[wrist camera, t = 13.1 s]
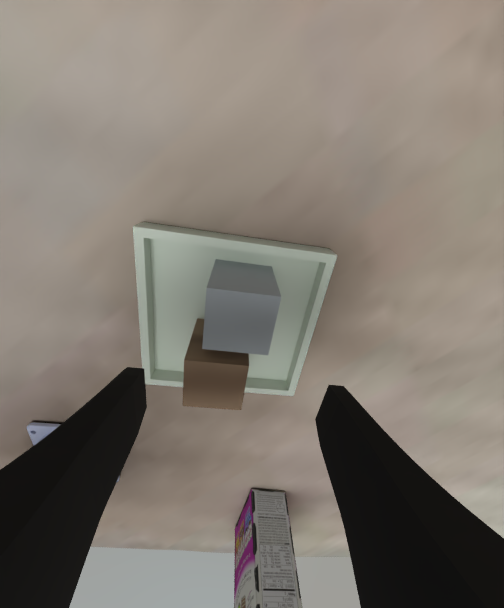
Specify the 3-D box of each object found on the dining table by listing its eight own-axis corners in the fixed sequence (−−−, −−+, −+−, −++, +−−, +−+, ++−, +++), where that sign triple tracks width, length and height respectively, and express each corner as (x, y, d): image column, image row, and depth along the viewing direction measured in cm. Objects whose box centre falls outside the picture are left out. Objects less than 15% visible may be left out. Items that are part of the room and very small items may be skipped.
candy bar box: (267, 529, 37) (282, 754, 23) (234, 527, 37) (228, 757, 22) (288, 489, 32) (325, 744, 18) (251, 486, 32) (258, 747, 17)
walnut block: (241, 362, 22) (240, 410, 17) (195, 357, 21) (182, 405, 17) (247, 323, 20) (248, 366, 15) (197, 318, 20) (183, 360, 15)
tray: (290, 382, 24) (293, 396, 22) (150, 369, 22) (143, 384, 21) (329, 248, 18) (337, 255, 16) (142, 221, 17) (132, 226, 15)
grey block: (262, 314, 20) (268, 355, 15) (211, 308, 19) (202, 349, 15) (271, 266, 18) (281, 296, 13) (215, 259, 17) (206, 287, 13)
